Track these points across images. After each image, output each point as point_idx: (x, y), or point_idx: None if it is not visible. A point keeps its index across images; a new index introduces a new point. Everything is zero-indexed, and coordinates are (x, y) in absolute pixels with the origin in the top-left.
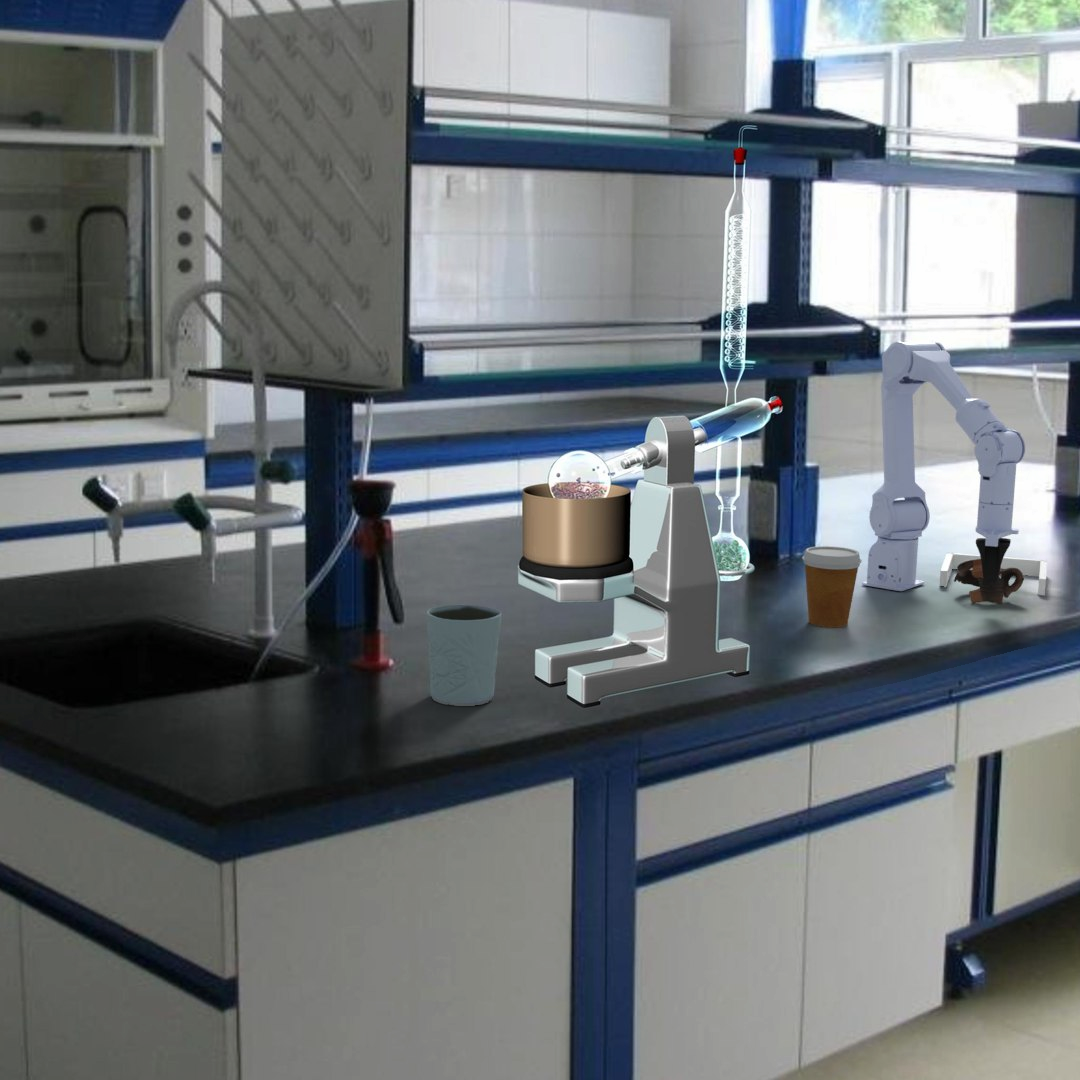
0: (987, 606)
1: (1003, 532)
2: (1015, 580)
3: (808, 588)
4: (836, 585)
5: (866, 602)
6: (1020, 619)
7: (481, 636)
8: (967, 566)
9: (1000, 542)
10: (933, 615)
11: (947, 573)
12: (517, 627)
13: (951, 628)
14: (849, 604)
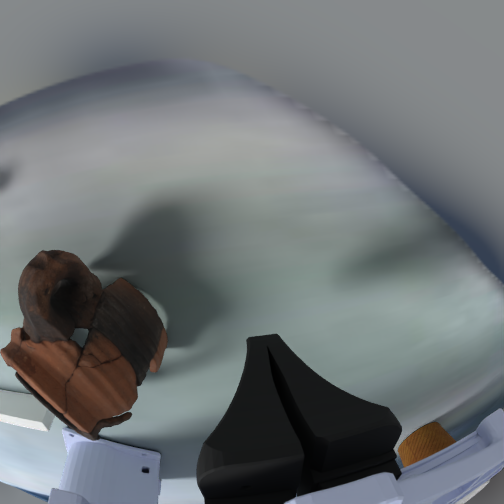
0: (186, 307)
1: (474, 477)
2: (67, 277)
3: None
4: None
5: None
6: (322, 199)
7: None
8: (101, 426)
9: (321, 470)
10: (347, 379)
11: (34, 414)
12: None
13: (440, 322)
14: (447, 439)
